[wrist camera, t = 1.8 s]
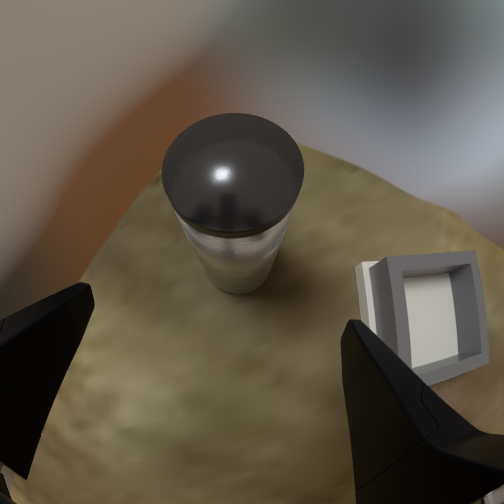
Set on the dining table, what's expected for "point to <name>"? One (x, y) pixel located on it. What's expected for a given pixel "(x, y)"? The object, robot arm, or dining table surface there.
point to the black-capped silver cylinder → (234, 194)
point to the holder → (427, 311)
